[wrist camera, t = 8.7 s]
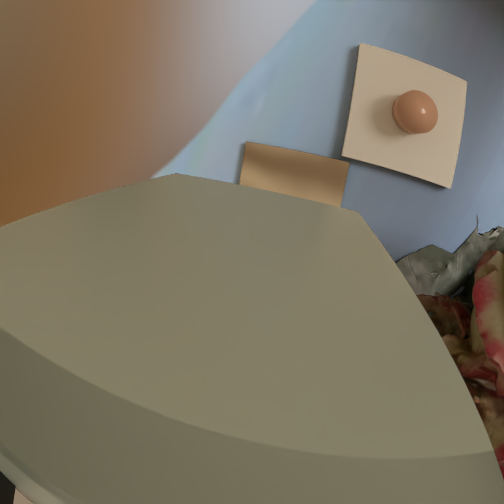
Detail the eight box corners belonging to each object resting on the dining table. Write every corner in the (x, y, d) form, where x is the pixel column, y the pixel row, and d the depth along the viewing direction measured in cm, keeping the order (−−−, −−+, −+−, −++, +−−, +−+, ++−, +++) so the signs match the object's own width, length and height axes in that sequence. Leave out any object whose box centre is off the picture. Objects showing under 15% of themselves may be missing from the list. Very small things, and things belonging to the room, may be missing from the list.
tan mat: (247, 141, 31) (246, 141, 30) (349, 162, 29) (349, 162, 29) (226, 275, 36) (225, 278, 36) (315, 296, 35) (315, 298, 35)
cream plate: (358, 45, 25) (363, 34, 21) (463, 82, 23) (476, 78, 20) (340, 155, 29) (344, 156, 26) (447, 187, 28) (460, 192, 25)
